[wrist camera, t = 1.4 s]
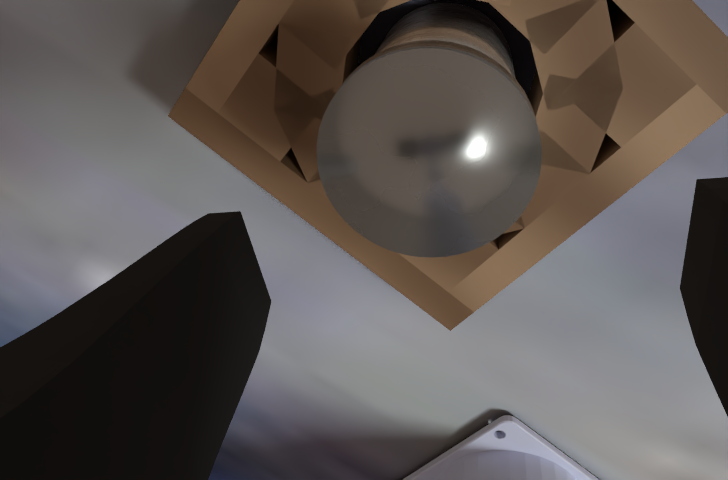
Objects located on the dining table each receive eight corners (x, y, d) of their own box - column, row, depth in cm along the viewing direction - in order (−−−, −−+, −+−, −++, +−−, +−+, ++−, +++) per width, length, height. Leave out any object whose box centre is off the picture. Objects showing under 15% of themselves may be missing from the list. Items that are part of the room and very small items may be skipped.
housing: (453, 289, 23) (450, 330, 21) (199, 91, 21) (167, 116, 19) (734, 55, 17) (768, 79, 15) (426, -264, 15) (417, -286, 13)
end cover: (447, 174, 21) (434, 292, 15) (336, 81, 20) (275, 169, 14) (557, 66, 18) (592, 156, 13) (436, -46, 17) (414, -5, 12)
